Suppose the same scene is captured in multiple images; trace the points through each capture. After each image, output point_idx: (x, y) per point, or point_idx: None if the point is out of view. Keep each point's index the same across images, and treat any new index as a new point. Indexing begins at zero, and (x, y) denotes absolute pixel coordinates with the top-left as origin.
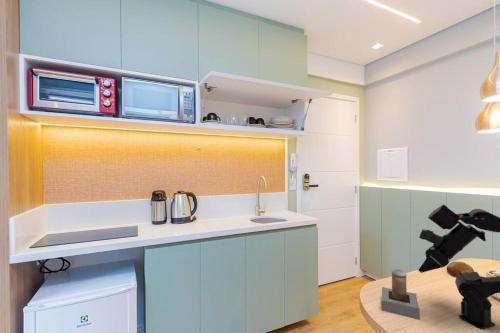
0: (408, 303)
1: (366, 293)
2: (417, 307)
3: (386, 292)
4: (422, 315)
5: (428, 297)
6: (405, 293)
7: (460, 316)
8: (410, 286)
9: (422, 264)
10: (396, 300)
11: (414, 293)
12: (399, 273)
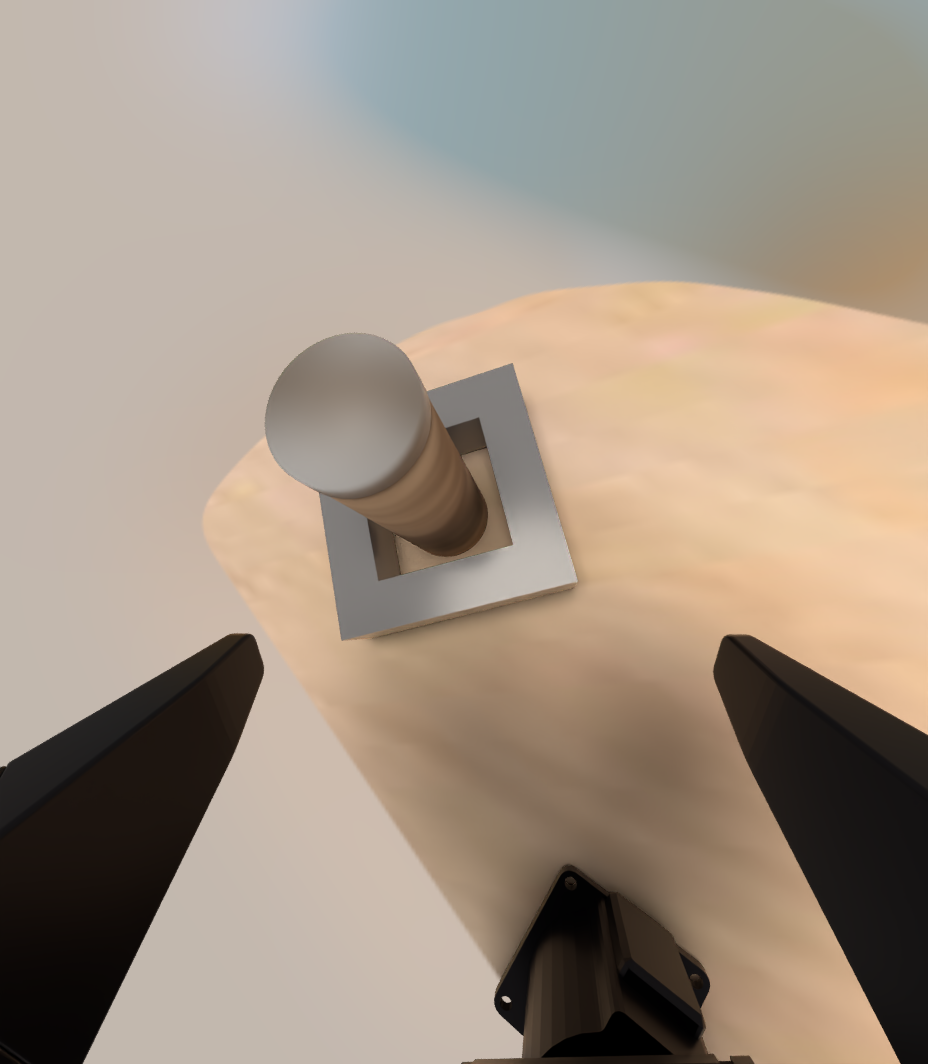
0: (370, 570)
1: (483, 324)
2: (349, 629)
3: (441, 415)
4: (430, 647)
5: None
6: (397, 533)
7: (562, 879)
8: (877, 496)
9: (62, 733)
10: None
11: (572, 572)
12: (292, 427)
